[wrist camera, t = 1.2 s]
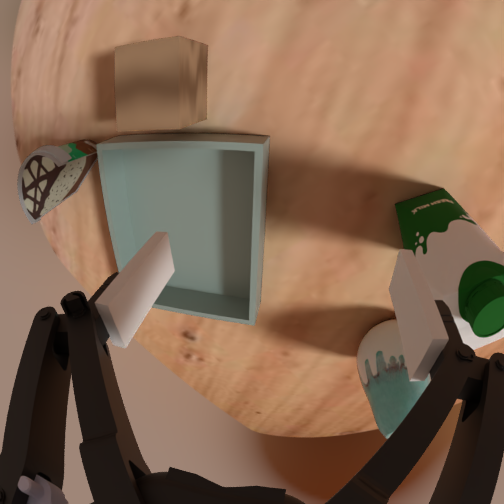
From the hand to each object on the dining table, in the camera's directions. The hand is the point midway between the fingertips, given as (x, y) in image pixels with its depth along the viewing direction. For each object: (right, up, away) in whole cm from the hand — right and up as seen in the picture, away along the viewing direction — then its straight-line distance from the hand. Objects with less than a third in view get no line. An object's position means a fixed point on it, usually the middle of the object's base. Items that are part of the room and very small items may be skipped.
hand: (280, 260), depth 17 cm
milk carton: (+20, +4, +17) cm, 27 cm away
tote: (-10, +4, +23) cm, 25 cm away
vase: (+20, -13, +27) cm, 36 cm away
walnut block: (-10, +20, +14) cm, 26 cm away
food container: (-27, +14, +21) cm, 37 cm away
